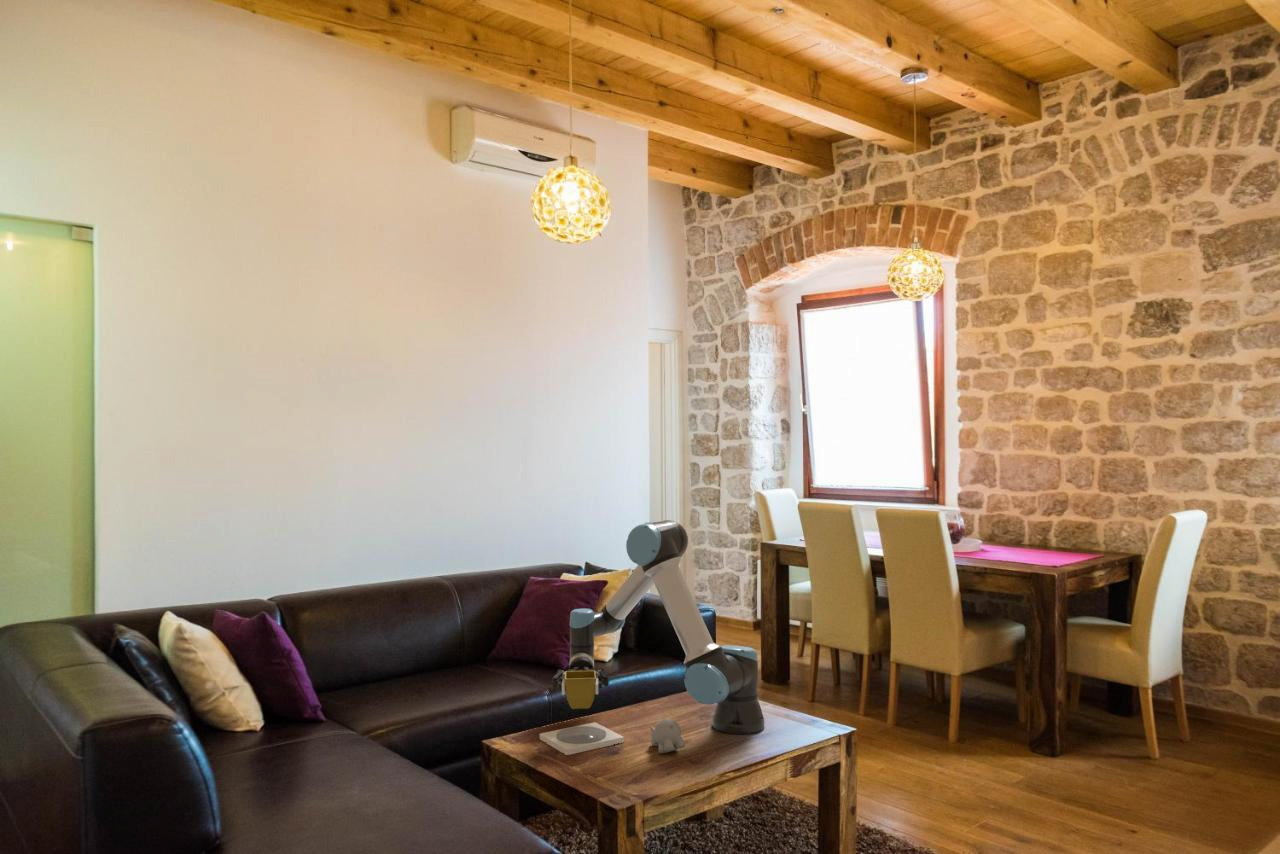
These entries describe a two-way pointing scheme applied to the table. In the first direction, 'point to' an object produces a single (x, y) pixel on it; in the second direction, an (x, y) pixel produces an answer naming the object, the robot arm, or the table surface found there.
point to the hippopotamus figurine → (667, 736)
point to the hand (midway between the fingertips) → (580, 689)
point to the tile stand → (581, 738)
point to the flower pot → (580, 688)
